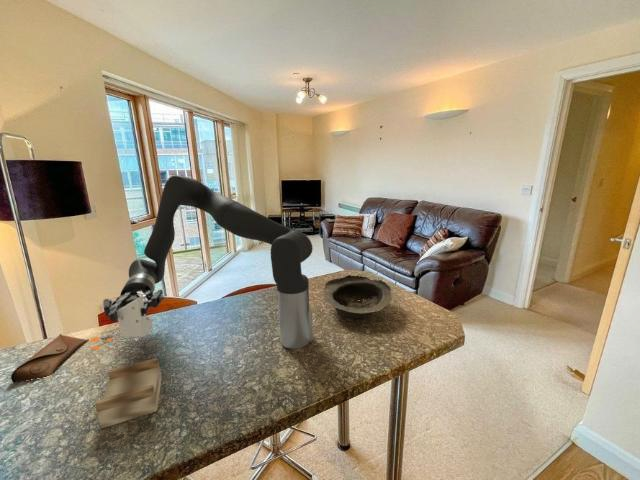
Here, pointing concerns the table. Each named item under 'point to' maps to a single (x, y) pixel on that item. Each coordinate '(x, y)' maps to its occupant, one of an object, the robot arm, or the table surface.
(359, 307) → the stone bowl
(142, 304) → the white angled block
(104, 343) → the key chain
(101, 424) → the wooden step block
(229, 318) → the table surface
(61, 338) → the sunglasses case
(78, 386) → the table surface
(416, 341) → the table surface
